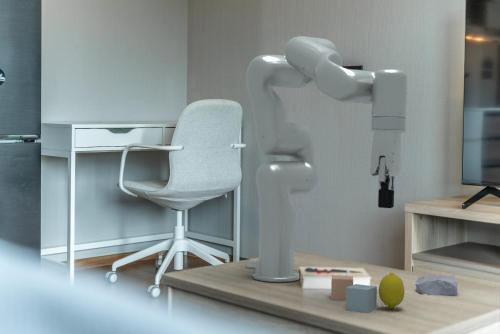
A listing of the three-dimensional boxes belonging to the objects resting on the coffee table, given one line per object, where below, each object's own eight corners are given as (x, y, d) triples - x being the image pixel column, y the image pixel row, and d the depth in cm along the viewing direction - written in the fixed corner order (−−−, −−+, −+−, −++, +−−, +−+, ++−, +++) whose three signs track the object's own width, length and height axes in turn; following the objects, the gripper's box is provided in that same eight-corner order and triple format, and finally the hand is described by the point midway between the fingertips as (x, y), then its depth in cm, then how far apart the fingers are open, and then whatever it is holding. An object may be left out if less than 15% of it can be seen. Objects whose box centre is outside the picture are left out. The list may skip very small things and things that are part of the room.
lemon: (388, 312, 158) (388, 275, 158) (373, 307, 163) (374, 271, 163) (409, 310, 160) (409, 273, 160) (394, 305, 165) (395, 269, 165)
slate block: (346, 310, 160) (346, 287, 160) (355, 306, 165) (355, 284, 164) (367, 313, 158) (367, 290, 158) (376, 309, 162) (376, 286, 162)
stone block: (419, 302, 178) (461, 296, 176) (415, 283, 178) (457, 276, 177) (416, 295, 190) (456, 289, 188) (413, 276, 190) (452, 270, 188)
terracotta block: (331, 300, 171) (331, 278, 171) (331, 296, 176) (331, 275, 176) (353, 301, 170) (353, 279, 170) (352, 296, 175) (353, 275, 175)
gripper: (379, 126, 173) (376, 204, 173) (363, 124, 159) (361, 209, 160) (411, 126, 170) (409, 205, 171) (398, 125, 156) (395, 211, 157)
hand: (385, 207), depth 165 cm, fingers closed
